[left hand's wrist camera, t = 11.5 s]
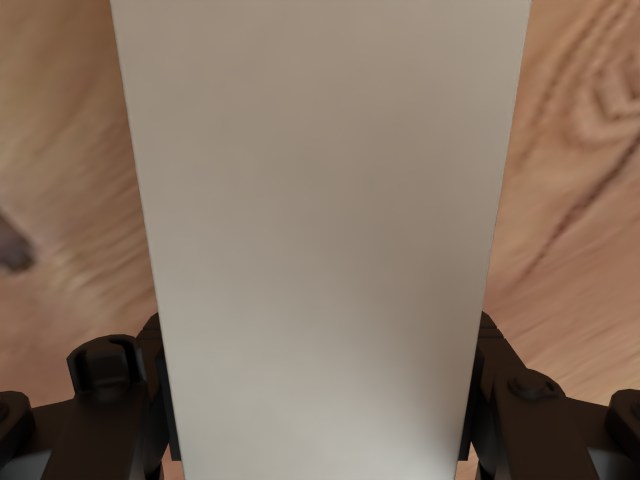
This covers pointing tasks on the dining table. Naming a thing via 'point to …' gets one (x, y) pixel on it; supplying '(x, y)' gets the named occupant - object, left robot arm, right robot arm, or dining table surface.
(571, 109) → the dining table surface
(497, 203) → the bar
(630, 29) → the dining table surface
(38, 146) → the dining table surface
